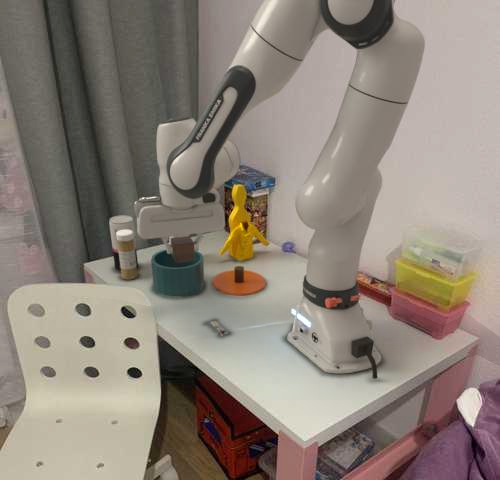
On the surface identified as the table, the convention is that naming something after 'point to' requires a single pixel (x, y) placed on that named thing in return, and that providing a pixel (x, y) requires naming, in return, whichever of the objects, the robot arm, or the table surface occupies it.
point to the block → (183, 249)
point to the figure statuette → (241, 228)
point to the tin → (177, 274)
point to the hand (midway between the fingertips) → (183, 251)
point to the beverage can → (116, 225)
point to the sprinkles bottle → (127, 254)
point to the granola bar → (219, 328)
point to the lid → (239, 282)
